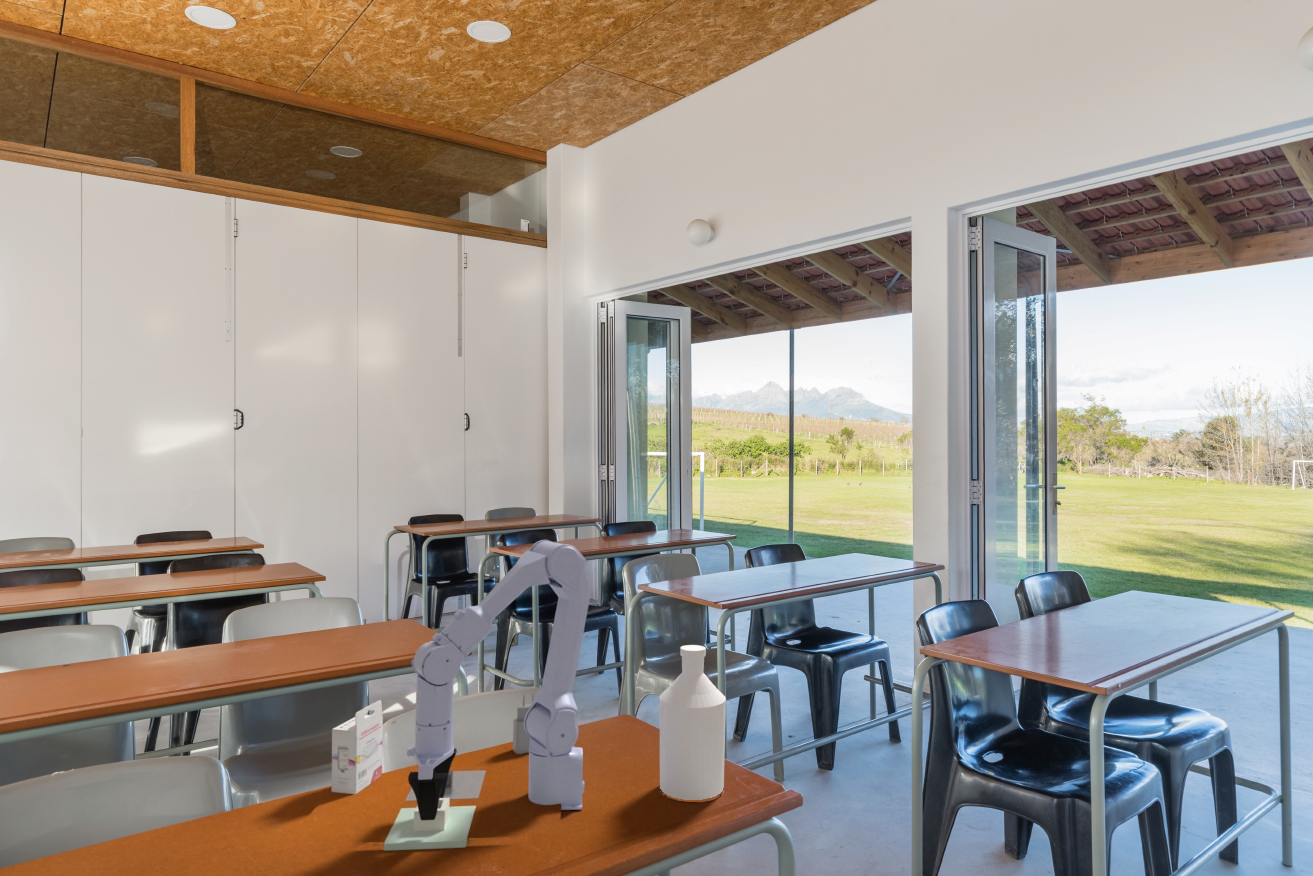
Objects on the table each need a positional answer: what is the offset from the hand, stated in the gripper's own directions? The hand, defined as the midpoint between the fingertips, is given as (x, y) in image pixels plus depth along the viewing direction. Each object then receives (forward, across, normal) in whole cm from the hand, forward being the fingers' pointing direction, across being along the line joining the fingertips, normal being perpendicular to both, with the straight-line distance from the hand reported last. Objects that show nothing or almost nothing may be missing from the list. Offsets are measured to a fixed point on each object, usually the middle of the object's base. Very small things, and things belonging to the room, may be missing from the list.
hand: (432, 808), depth 122 cm
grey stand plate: (+3, -15, 0) cm, 15 cm away
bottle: (+4, -12, +43) cm, 45 cm away
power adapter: (+4, -31, +13) cm, 34 cm away
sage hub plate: (+3, 0, 0) cm, 3 cm away
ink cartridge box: (+4, -17, -16) cm, 24 cm away
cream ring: (+2, 0, 0) cm, 2 cm away
